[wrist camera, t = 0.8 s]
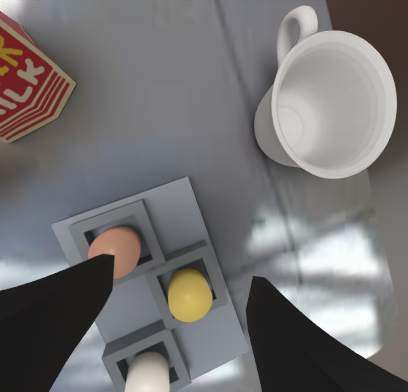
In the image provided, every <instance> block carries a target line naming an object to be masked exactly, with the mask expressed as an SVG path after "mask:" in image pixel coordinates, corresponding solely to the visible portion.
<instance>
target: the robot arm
mask: <svg viewBox="0 0 408 392" xmlns="http://www.w3.org/2000/svg"><path fill="white" fill-rule="evenodd" d="M114 261H115V255H110V254H100V255H98V256H95V257H93V258H90V259H88V260H86V261H83V262H81V263H79V264H76V265H74V266H72V267H69V268H67V269H65V270H62V271H59V272H57V273H54V274H52V275H49V276H47V277H44V278H41V279H38V280H36V281H33V282H30V283H26V284H23V285H20V286H17V287H13V288H10V289H6V290H2V291H0V392H49V391H50V389H51V387H52V385H53V384H54V382H55V380H56V378H57V377H58V375H59V373H60V372H61V370H62V368H63V366H64V365H65V363H66V361H67V360H68V358H69V357H70V355H71V354H72V352H73V351H74V349H75V348H76V346H77V345H78V344H79V342H80V341H81V339H82V338H83V337H84V335H85V334H86V332H87V331H88V329H89V328H90V327H91V325H92V324H93V322H94V321H95V319H96V318H97V317H98V315H99V314H100V312H101V311H102V309H103V308H104V306H105V304H106V302H107V300H108V298H109V296H110V294H111V292H112V291H113V277H114ZM246 317H247V326H248V332H249V337H250V341H251V345H252V350H253V354H254V358H255V362H256V366H257V371H258V375H259V379H260V384H261V389H262V392H408V382H407V381H405V380H403V379H401V378H399V377H397V376H395V375H393V374H391V373H389V372H388V371H386V370H384V369H382V368H381V367H379V366H377V365H375V364H374V363H372V362H370V361H368V360H367V359H365V358H364V357H362V356H360V355H359V354H357V353H355V352H354V351H352V350H351V349H349V348H348V347H346V346H345V345H343V344H342V343H340V342H339V341H337V340H336V339H335V338H333V337H332V336H330V335H329V334H328V333H326V332H325V331H324V330H322V329H321V328H320V327H318V326H317V325H316V324H315V323H313V322H312V321H311V320H310V319H308V318H307V317H306V316H305V315H304V314H303V313H302V312H300V311H299V310H298V309H297V308H296V307H295V306H294V305H293V304H292V303H291V302H290V301H289V300H287V299H286V298H285V297H284V296H283V295H282V294H281V293H280V292H279V291H278V290H277V289H276V288H275V287H274V286H273V285H272V284H271V283H270V282H269V281H268V280H267V279H266V278H264V277H257V276H253V279H252V284H251V288H250V293H249V298H248V302H247V307H246Z"/></svg>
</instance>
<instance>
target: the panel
mask: <svg viewBox="0 0 408 392" xmlns="http://www.w3.org/2000/svg"><path fill="white" fill-rule="evenodd" d="M117 225H123V226H127V227H130V228H132V229H133V230H135V231H136V232H137V233H138V235H139V237H140V239H141V243H142V248H141V252H140V256H139V260H138V263H137V265H136V267H135V268H134V269H133V270H132V271H131V272H130V273H129V274H127V275H126V276H124V277H121V278H117V279H113V291H112V292H111V294H110V296H109V298H108V300H107V302H106V304H105V306H104V308H103V309H102V311H101V312H100V314H99V315H98V317H97V318H96V319H95V322H96V325H97V327H98V329H99V331H100V333H101V336H102V338H103V340H104V342H105V344H106V347H105V350H104V353H103V356H102V360H103V363H104V365H105V367H106V369H107V371H108V373H109V375H110V378H111V380H112V382H113V384H114V386H115V388H116V391H117V392H124V391H125V386H126V380H127V374H128V369H129V366H130V364H131V362H132V361H133V360H134V359H135V358H136V357H137V356H138V355H140V354H142V353H145V352H158V353H160V354H162V355H163V356H164V357H165V358H166V359H167V361H168V365H169V386H170V392H175V391H176V390H178V389H180V388H182V387H184V386H186V385H188V384H190V383H191V380H193V379H195V378H197V377H199V376H201V375H203V374H205V373H207V372H209V371H211V370H213V369H215V368H217V367H219V366H221V365H223V364H225V363H227V362H229V361H231V360H233V359H235V358H236V357H238V356H240V355H242V354H244V353H246V352H248V351H249V349H248V346H247V343H246V340H245V337H244V335H243V332H242V329H241V326H240V323H239V320H238V317H237V315H236V312H235V309H234V306H233V303H232V300H231V298H230V295H229V292H228V289H227V286H226V283H225V281H224V278H223V275H222V272H221V269H220V266H219V264H218V261H217V258H216V255H215V252H214V249H213V246H212V244H211V241H210V238H209V235H208V232H207V229H206V227H205V224H204V221H203V218H202V215H201V212H200V210H199V207H198V204H197V201H196V198H195V195H194V192H193V190H192V187H191V184H190V181H189V178H188V177H183V178H180V179H177V180H174V181H171V182H168V183H166V184H163V185H160V186H157V187H154V188H151V189H149V190H146V191H143V192H140V193H137V194H134V195H131V196H129V197H126V198H123V199H120V200H117V201H114V202H111V203H109V204H106V205H103V206H100V207H97V208H94V209H91V210H89V211H86V212H83V213H80V214H77V215H74V216H71V217H69V218H66V219H63V220H61V221H58V222H56V223H53V224H51V226H52V228H53V231H54V233H55V235H56V237H57V239H58V241H59V244H60V246H61V248H62V250H63V252H64V255H65V257H66V259H67V261H68V263H69V266H70V267H72V266H74V265H76V264H79V263H81V262H83V261H86V260H88V252H89V248H90V246H91V244H92V243H93V241H94V240H95V239H96V238H97V237H98V236H99V235H101V234H102V233H103V232H104V231H105V230H106V229H108V228H110V227H113V226H117ZM186 268H192V269H196V270H198V271H200V272H201V273H202V274H203V275H204V277H205V279H206V281H207V283H208V286H209V288H210V290H211V292H212V305H211V307H210V309H209V311H208V312H207V314H206V315H205V316H204V317H202V318H201V319H199V320H197V321H194V322H183V321H180V320H178V319H176V318H175V317H174V316H173V315H172V313H171V312H170V309H169V304H168V283H169V281H170V279H171V277H172V276H173V275H174V274H175V273H176V272H178V271H180V270H182V269H186Z"/></svg>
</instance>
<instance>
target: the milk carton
mask: <svg viewBox="0 0 408 392" xmlns="http://www.w3.org/2000/svg"><path fill="white" fill-rule="evenodd" d="M76 84H77V83H76V82H74V81H73V80H72V79H71V78H70V77H69V76H68V75H67V74H66V73H65V72H64V71H62V70H61V69H60V68H59V67H58V66H57V65H56V64H55V63H54V62H53V61H52V60H51V59H50V58H48V57H47V56H46V55H45V54H44V53H43V52H42V51H41V50H40V49H39V48H38V47H37V46H36V45H35V44H34V42H33V41H32V40H31V38H30V37H29V36H28V35H27V33H26V32H25V31H24V30H23V28H22V27H21V26H20V25H19V24H18V23H16V22H15V21H14V20H12V19H11V18H9V17H8V16H7V15H5V14H4V13H2V12H1V11H0V141H2V142H5V143H8V144H9V143H11V142H13V141H15V140H17V139H19V138H20V137H22V136H24V135H26V134H28V133H30V132H32V131H34V130H36V129H38V128H40V127H42V126H43V125H45V124H47V123H49V122H51V121H53V120H55V119H57V118H58V117H59V115H60V113H61V111H62V109H63V107H64V106H65V104H66V102H67V100H68V98H69V96H70V95H71V93H72V91H73V89H74V87H75V85H76Z"/></svg>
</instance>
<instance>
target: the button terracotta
mask: <svg viewBox="0 0 408 392" xmlns="http://www.w3.org/2000/svg"><path fill="white" fill-rule="evenodd" d="M141 248H142V243H141V239H140V237H139V235H138V233H137V232H136V231H135V230H133V229H132V228H130V227H127V226H123V225H117V226H113V227H110V228H108V229H106V230H105V231H104V232H103V233H102V234H101V235H99V236H98V237H97V238H96V239H95V240H94V241H93V243H92V244H91V246H90V248H89V252H88V259H90V258H93V257H95V256H98V255H100V254H110V255H115V261H114V277H113V279H117V278H121V277H124V276H126V275H127V274H129V273H130V272H131V271H132V270H133V269H134V268H135V267H136V265H137V263H138V260H139V256H140V252H141Z"/></svg>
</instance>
